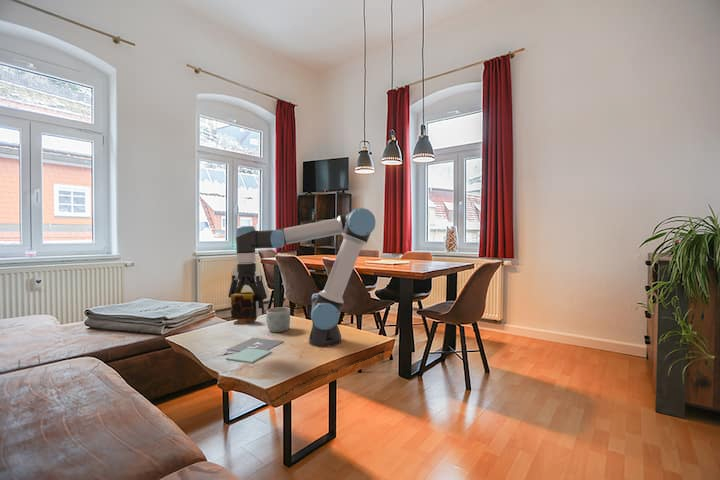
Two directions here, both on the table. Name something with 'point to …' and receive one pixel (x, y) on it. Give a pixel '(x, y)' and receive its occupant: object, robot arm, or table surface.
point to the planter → (278, 319)
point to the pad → (249, 355)
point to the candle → (244, 305)
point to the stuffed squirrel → (244, 321)
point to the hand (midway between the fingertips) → (248, 315)
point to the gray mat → (256, 344)
